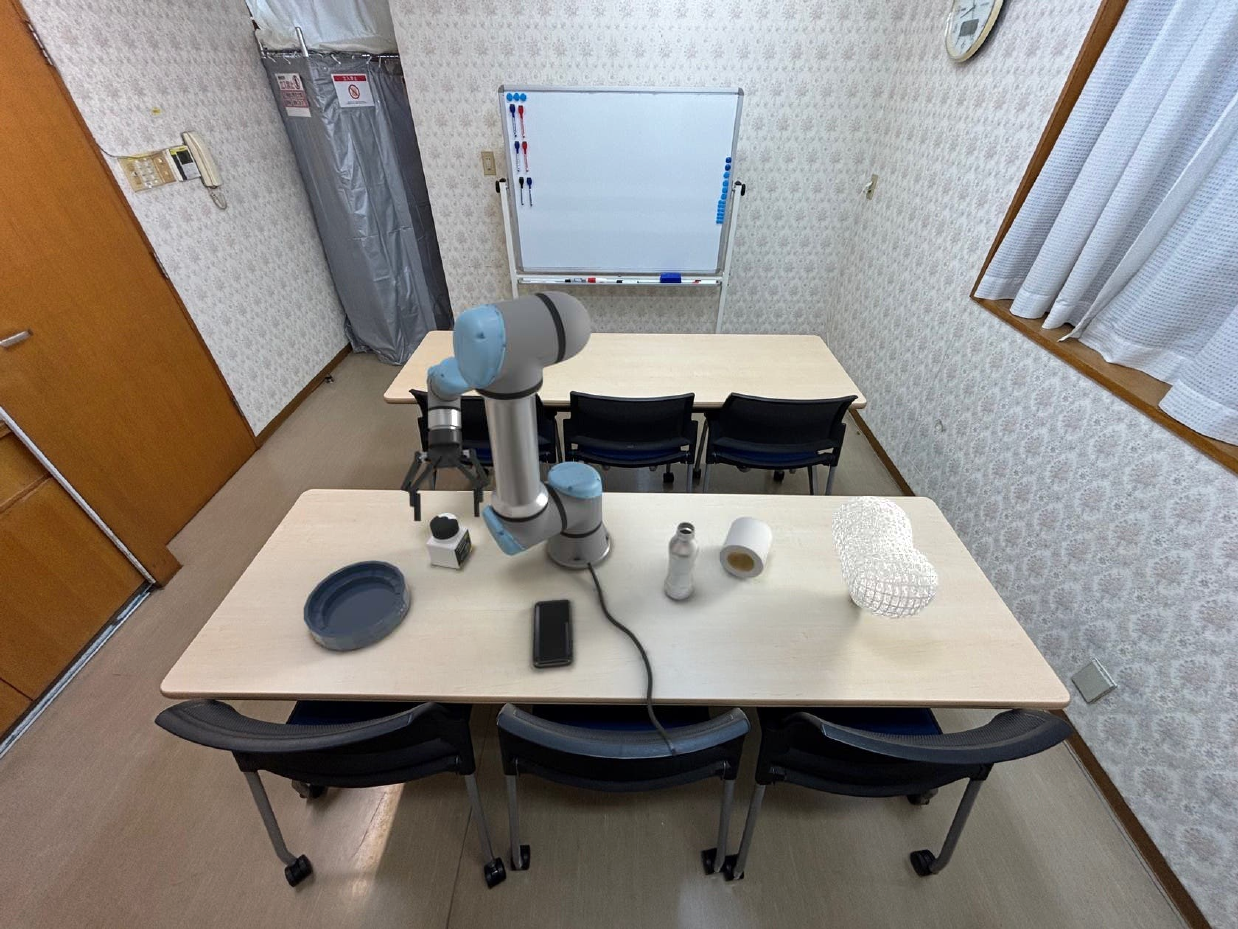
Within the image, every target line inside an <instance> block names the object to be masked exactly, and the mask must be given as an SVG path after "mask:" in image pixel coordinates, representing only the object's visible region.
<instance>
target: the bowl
mask: <svg viewBox="0 0 1238 929" xmlns="http://www.w3.org/2000/svg"><path fill="white" fill-rule="evenodd" d="M306 598H307V599H306V601H305V603H304V606H303V621H304V623H305V625H306V626H307V628H308V630H309V631H310V633H311V634H312V637H313V638H314V639H315V641H316V642H317V643H318V644H320V645H321V646H323V647H325V648H326V649H330V650H336V651H350V650H357V649H361V648H363V647H366V646H369V645H372V644H374V643H376V642H378V641H379V640H381V639H383V638H384V637H386V636H388V635H389V634H390V633H391V632H392V631H393V630H394V629H395V628H396V627H397V626H399V624H400V623H401V622H402V621H403V619H404V617H405V615H406V614H407V612H408V610H409V607H410V603H411V594H410V589H409V586H408V583H407V580H406V577H405V576H404V573H402V571H401V570H400V569H399V568H398V567H397V566H396V565H393V564H392V563H389V561H381V560H373V559H372V560H365V561H364V560H363V561H358V562H354V563H351V564H348V565H345V566H342V567H341V568H339V569H337V570H335V571H333V572H331V573H330V574H329V575H327V576H326V577H325V578H323V579H322V580H321V581H320V582H319V583H317V585H315V587H314V588H313V590H312V591H311V592H310V593H309V594H308V597H306Z"/></svg>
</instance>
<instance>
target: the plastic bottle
mask: <svg viewBox="0 0 1238 929" xmlns="http://www.w3.org/2000/svg"><path fill="white" fill-rule="evenodd" d="M695 533H696V527H695V525H694V524H693V523H691V522H689V521H682V522H680V523H679V524H678V525H677V527H676V531H675V534H674V535H673V536H672V537H671V538H670V540H669V542H668V545H667V546H668V547H667V550H668V570H667V573H666V576H665V579H664V589H665V592H666V595H668V596H669V597H670V598H672V599H674V600H684V599H687V598H689V596H690V595H691V594H692V592H693V590H694V587H695V584H694V583H695V582H694V566H695V562H696V560H697V557H698V554H699V550H700V545H699V542H698V540H697V538H696V537H695V535H696V534H695Z"/></svg>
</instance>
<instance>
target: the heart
mask: <svg viewBox="0 0 1238 929" xmlns="http://www.w3.org/2000/svg"><path fill="white" fill-rule="evenodd" d="M861 501H862V502H861ZM863 507H864V508H863ZM857 508H858V509H859V510H856V509H857ZM885 510H886V511H885ZM890 511H891V512H892V513H893V515H892V514H891V512H890ZM860 515H861V516H862V517H860ZM886 517H888V518H889V521H887V519H886ZM868 518H869V519H868ZM873 518H875V521H874V520H873ZM866 519H868V520H869V521H867V520H866ZM860 523H861V525H860ZM844 525H845V526H844ZM853 525H855V528H853ZM883 525H884V526H885V527H883ZM870 526H872V527H873V528H871V529H870ZM864 527H865V528H866V530H865V529H864ZM899 528H900V530H899ZM877 531H879V533H878V532H877ZM884 531H885V533H884ZM858 532H859V533H858ZM864 534H867V535H866V536H865V537H864ZM860 536H861V537H860ZM831 537H832V541H833V545H834V546H833V547H834V549H835V553H836V556H837V560H838V563H839V567H840V571H841V574H842V577H843V581H844V584H845V587H846V588H847V591H848V593H849V595H850V597H851V599H852V601H853V602H854V604H855V605H857V606H858V607H859V608H861V609H863V610H864V611H866V612H868V614H869V613H870V614H871V615H874V616H876V617H878V618H882V619H888V620H898V619H900V620H901V619H906V618H909V617H912V616H915V615H917V614H919V613H921V612H922V611H924V610H925V609H926V608H927V607H928V606H929V605H930V604H931V603H932V602H933V601H934V599H935V596H936V594H937V592H938V589H939V579H938V575H937V573H936V570H935V568H934V566H933V565H932V564H931V562H930V561H929V560H928V559H927V557H926V556H925V555H924V554H923V553H921V552H920V551H919V550H918V549H917V548H916V547H914V544H913V531H912V526H911V522H910V518H909V517H908V516H907V514H906V513H905V512H904V511H903V509H902V508H901V507H900V506H898V504H896V503H895V502H892V501H891V500H889V499H886V498H884V497H879V496H873V495H872V496H871V495H863V496H857V497H854V498H851V499H849V500H848V501H846V502H844V503H843V504H842V505H841V506H839V507H838V509H837V510H836V512H835V513H834V516H833V518H832V522H831ZM875 537H876V538H875ZM844 541H845V542H844ZM852 541H854V542H852ZM859 543H860V544H859ZM869 543H870V544H869ZM871 552H872V553H871ZM865 553H866V554H865ZM886 555H887V556H886ZM875 556H879V557H875ZM883 556H885V557H883ZM906 556H907V557H906ZM893 557H895V558H896V559H895V560H894V559H893ZM868 559H870V560H868ZM902 559H903V560H902ZM875 563H877V564H875ZM886 563H888V564H886ZM896 564H898V566H896ZM880 565H881V567H882V568H880V567H879V566H880ZM903 565H905V566H906V567H905V568H903ZM862 566H863V568H862ZM867 566H869V567H868V569H867ZM917 566H918V568H917ZM889 567H890V568H889ZM910 567H912V568H910ZM871 568H872V569H871ZM898 570H899V571H898ZM854 572H855V573H854ZM877 572H878V573H877ZM886 573H887V574H886ZM869 574H871V575H870V577H869ZM895 574H896V576H895ZM881 575H882V576H883V577H882V578H881V579H880V578H879V577H880V576H881ZM873 576H874V578H873ZM889 576H890V578H891V579H890V580H889V579H888V577H889ZM903 576H904V577H903ZM918 576H919V579H918ZM925 576H926V577H925ZM911 577H912V579H911ZM897 579H898V581H899V582H896V580H897ZM863 581H864V583H863ZM905 582H906V583H905ZM914 582H915V584H913V583H914ZM869 584H870V585H869ZM879 585H880V586H881V587H879V588H878V586H879ZM872 586H873V587H872ZM887 586H888V589H887ZM891 586H892V587H891ZM898 587H900V590H899V589H898ZM886 589H887V590H886ZM906 590H907V591H906ZM920 592H921V593H920ZM903 593H904V595H903ZM912 593H913V595H912V596H911V594H912ZM919 594H920V595H919ZM894 598H896V599H897V600H893V599H894ZM887 599H889V601H887ZM904 599H906V600H905V602H904V603H902V601H903V600H904ZM912 600H913V601H912ZM909 603H911V604H910V605H908V604H909ZM916 603H917V604H916Z"/></svg>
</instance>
